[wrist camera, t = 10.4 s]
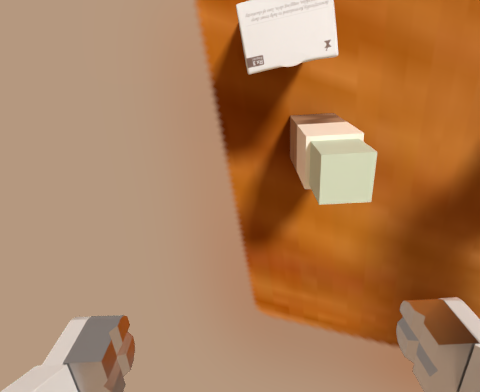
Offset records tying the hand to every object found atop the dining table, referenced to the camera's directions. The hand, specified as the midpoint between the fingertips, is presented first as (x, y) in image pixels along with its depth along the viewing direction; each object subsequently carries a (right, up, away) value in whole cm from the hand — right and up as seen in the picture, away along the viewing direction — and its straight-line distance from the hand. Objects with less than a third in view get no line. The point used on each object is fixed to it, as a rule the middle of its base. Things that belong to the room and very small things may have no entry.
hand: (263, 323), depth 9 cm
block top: (+9, +10, +30) cm, 33 cm away
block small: (+9, +7, +25) cm, 27 cm away
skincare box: (+4, +24, +31) cm, 39 cm away
